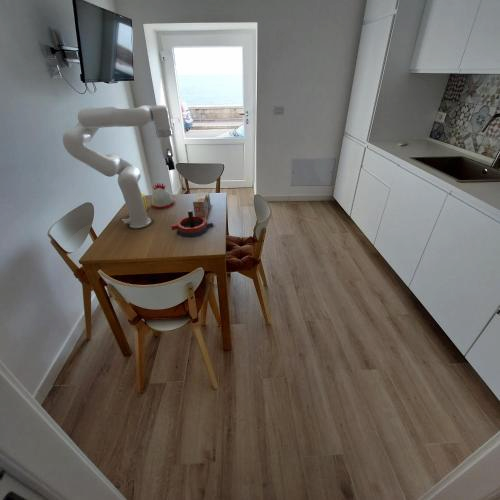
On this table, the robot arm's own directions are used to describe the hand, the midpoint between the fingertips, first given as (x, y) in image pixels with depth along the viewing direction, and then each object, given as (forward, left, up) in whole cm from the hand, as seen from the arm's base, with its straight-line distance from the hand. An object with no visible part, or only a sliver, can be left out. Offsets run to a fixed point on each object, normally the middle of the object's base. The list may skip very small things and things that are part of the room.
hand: (170, 167), depth 146 cm
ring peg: (+5, -14, -32) cm, 35 cm away
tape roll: (-23, +25, -32) cm, 47 cm away
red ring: (+3, -14, -30) cm, 33 cm away
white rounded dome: (-8, +28, -32) cm, 43 cm away
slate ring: (+7, -14, -32) cm, 36 cm away
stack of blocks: (+15, +5, -32) cm, 36 cm away
